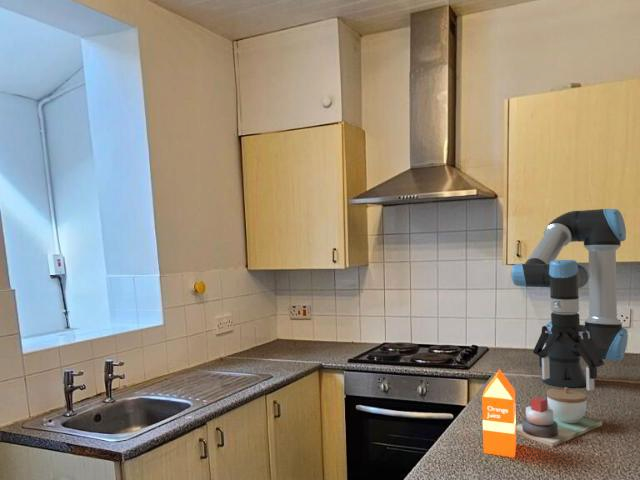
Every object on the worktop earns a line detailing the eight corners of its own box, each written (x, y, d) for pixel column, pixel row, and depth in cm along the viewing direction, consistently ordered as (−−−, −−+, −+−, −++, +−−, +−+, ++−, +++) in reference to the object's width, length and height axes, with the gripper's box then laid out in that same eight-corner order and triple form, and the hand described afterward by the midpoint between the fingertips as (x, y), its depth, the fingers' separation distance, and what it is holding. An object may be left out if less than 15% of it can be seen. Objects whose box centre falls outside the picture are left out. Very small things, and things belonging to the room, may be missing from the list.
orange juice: (483, 452, 127) (480, 375, 127) (486, 439, 135) (484, 367, 135) (515, 457, 123) (513, 378, 123) (517, 444, 131) (515, 369, 131)
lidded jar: (552, 410, 152) (551, 380, 152) (591, 417, 145) (590, 386, 145) (542, 421, 144) (541, 389, 144) (583, 429, 137) (582, 395, 137)
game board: (559, 412, 153) (559, 401, 153) (602, 425, 142) (602, 413, 142) (509, 431, 140) (509, 419, 140) (552, 446, 129) (552, 433, 129)
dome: (535, 414, 142) (535, 393, 142) (558, 421, 136) (558, 399, 136) (520, 419, 138) (520, 398, 138) (543, 427, 132) (543, 405, 132)
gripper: (519, 309, 153) (522, 376, 153) (601, 319, 132) (604, 397, 132) (534, 306, 157) (536, 372, 157) (615, 315, 136) (618, 391, 136)
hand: (567, 383), depth 145 cm, fingers open, 13 cm apart
